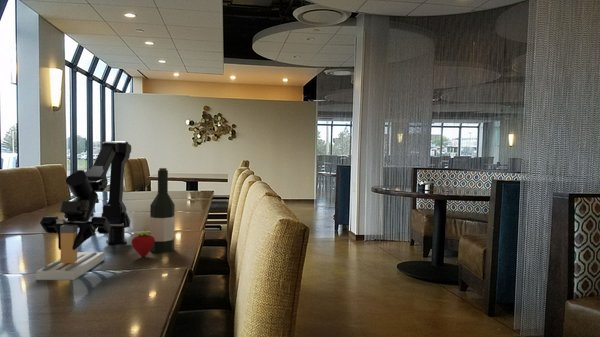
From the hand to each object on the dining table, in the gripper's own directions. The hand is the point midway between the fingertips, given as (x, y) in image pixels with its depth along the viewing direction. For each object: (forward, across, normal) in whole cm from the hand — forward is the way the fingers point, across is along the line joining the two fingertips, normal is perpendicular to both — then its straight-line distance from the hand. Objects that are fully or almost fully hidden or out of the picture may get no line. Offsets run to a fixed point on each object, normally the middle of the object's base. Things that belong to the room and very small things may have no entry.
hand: (66, 249), depth 115 cm
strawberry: (-7, +16, +18) cm, 25 cm away
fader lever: (+2, 0, +4) cm, 4 cm away
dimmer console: (+2, 0, +8) cm, 8 cm away
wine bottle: (-14, +20, +24) cm, 34 cm away
